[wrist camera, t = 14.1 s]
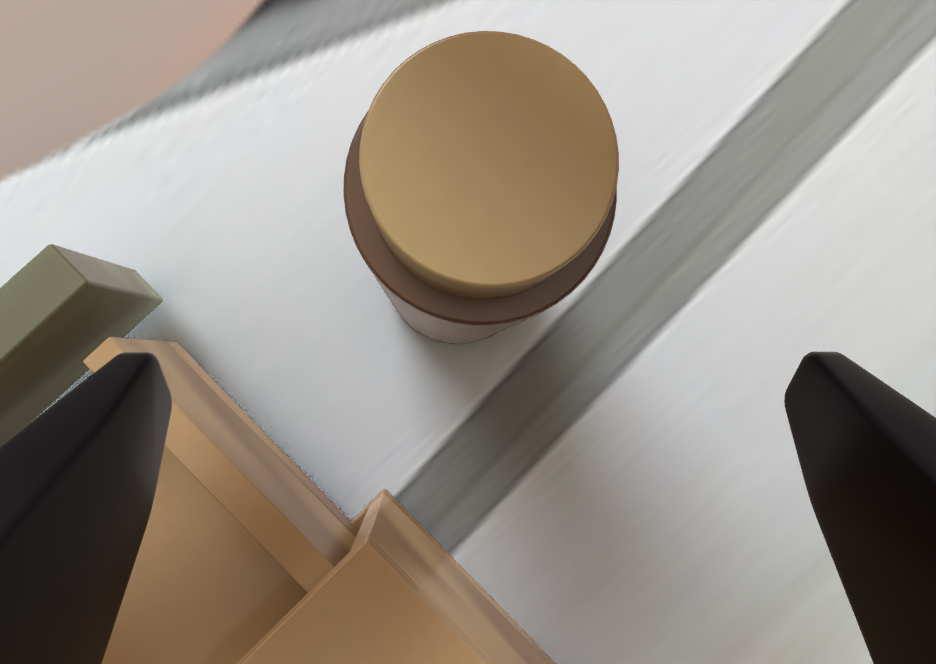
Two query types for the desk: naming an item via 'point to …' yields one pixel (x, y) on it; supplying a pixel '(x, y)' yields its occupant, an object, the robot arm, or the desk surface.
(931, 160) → the desk surface
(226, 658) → the drawer
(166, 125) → the desk surface
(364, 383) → the desk surface
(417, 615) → the drawer unit
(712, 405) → the desk surface
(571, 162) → the pepper mill
